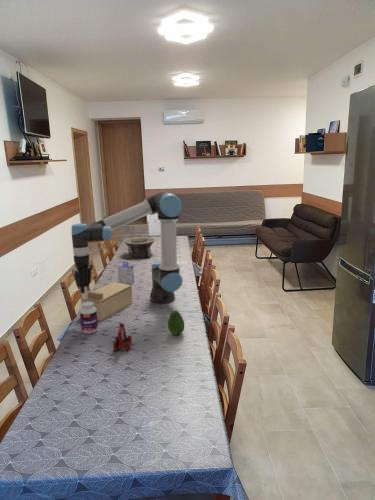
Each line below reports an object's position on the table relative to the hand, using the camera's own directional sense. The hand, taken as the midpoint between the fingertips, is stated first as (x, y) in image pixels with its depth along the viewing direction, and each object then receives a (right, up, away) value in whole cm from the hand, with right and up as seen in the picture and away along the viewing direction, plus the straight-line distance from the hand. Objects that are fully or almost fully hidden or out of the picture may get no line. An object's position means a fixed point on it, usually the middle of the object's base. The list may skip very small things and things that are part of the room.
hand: (84, 298), depth 190 cm
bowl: (+12, +20, +131) cm, 133 cm away
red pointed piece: (+24, -19, -24) cm, 39 cm away
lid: (+8, +1, +15) cm, 17 cm away
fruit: (+48, -16, -13) cm, 52 cm away
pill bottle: (+5, -15, -8) cm, 18 cm away
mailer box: (+9, -9, +18) cm, 21 cm away
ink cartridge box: (+11, +2, +62) cm, 63 cm away
